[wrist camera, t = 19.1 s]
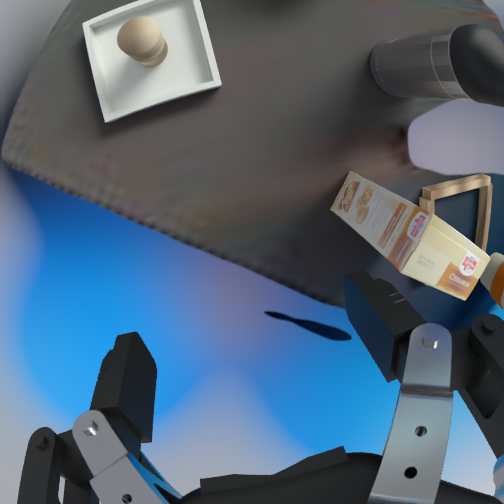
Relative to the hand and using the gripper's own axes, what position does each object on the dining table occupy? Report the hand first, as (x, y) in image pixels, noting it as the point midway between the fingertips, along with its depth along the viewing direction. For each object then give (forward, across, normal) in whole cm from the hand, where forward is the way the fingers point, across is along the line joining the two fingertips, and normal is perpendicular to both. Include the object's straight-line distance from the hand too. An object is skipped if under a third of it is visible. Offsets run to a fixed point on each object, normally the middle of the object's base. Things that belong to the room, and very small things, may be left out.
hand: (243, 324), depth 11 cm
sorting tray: (+32, +4, -18) cm, 37 cm away
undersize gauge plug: (+31, +4, -18) cm, 36 cm away
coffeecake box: (+32, -23, +12) cm, 41 cm away
